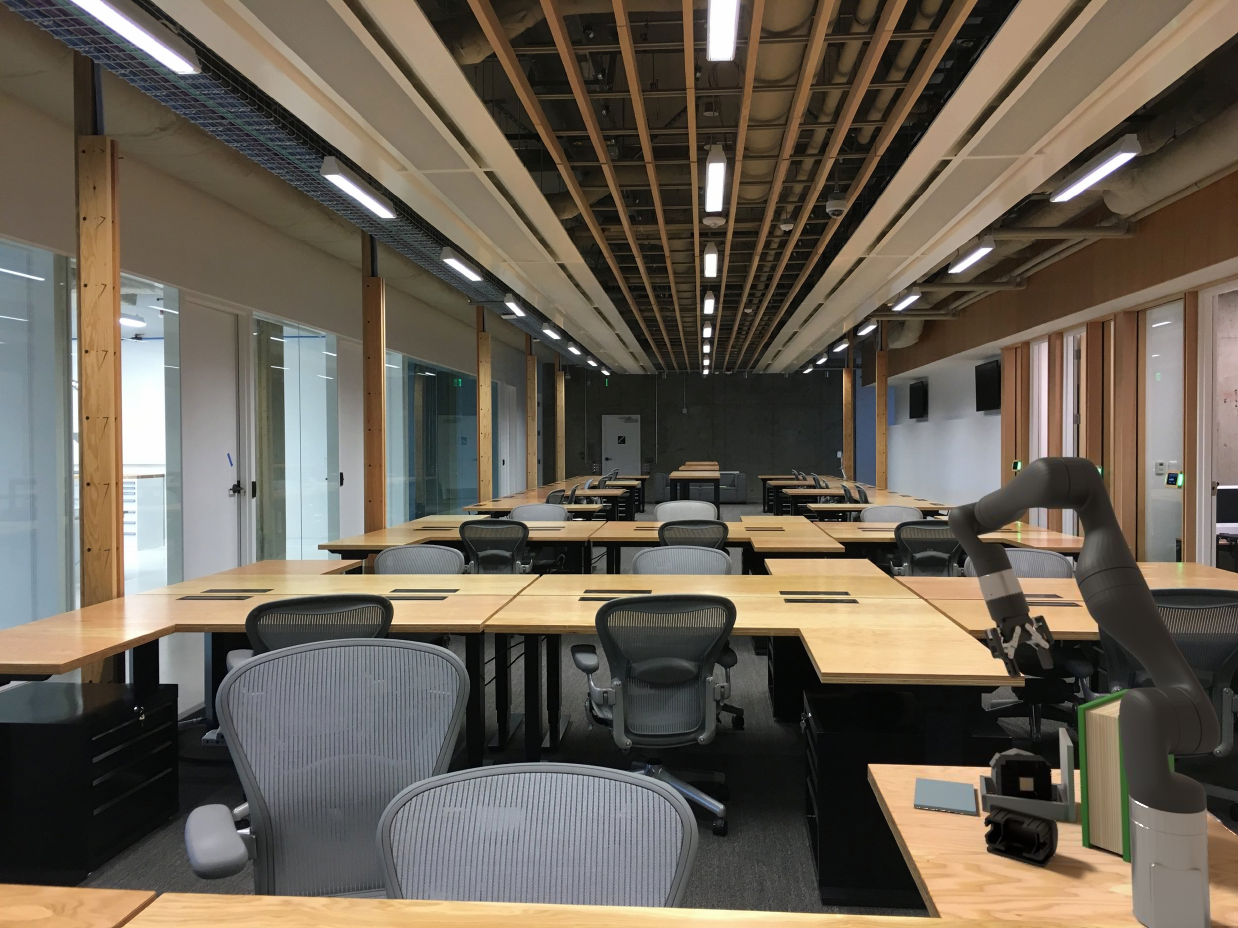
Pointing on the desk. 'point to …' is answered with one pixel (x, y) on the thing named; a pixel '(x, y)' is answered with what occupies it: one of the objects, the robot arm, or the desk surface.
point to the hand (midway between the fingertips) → (1032, 672)
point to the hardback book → (1104, 776)
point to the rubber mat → (945, 796)
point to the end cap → (1021, 835)
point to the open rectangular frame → (1049, 809)
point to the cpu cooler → (1022, 775)
